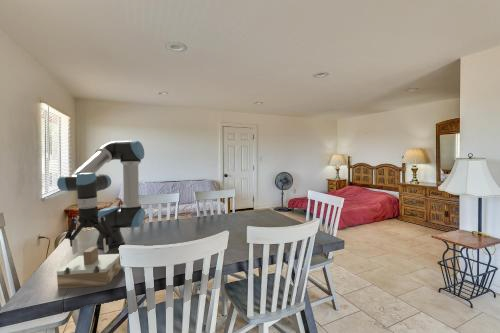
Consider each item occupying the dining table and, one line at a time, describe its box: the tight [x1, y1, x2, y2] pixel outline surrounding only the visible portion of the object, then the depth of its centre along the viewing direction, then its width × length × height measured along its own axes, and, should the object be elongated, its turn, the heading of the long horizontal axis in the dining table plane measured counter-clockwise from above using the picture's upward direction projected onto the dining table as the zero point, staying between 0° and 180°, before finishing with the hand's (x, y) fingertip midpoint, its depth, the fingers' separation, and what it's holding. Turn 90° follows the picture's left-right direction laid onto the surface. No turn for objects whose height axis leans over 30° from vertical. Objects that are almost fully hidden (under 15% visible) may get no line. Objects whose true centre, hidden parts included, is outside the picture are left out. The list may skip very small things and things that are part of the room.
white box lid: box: [56, 246, 120, 276], centre depth 117 cm, size 16×20×8 cm
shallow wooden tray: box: [56, 259, 123, 289], centre depth 117 cm, size 16×20×8 cm
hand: (90, 252), depth 117 cm, fingers open, 13 cm apart
